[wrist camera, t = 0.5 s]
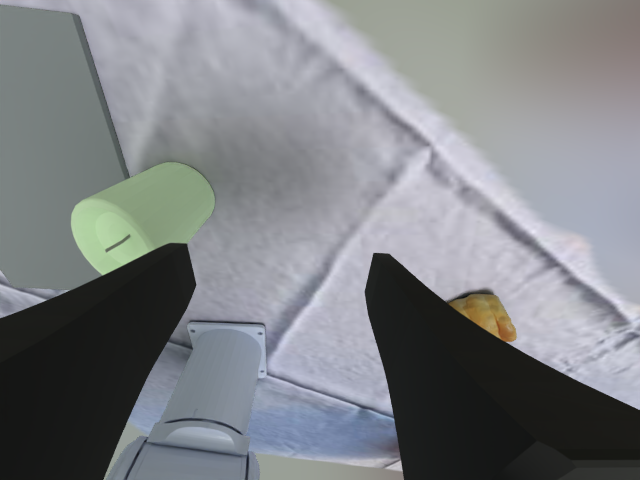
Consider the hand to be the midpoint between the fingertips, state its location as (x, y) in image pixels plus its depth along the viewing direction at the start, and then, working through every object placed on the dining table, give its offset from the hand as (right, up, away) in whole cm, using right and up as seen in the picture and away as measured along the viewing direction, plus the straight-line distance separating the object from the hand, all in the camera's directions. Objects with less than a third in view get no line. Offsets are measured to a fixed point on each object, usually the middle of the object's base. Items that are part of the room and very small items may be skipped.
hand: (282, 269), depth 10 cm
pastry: (+17, -7, +17) cm, 25 cm away
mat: (-19, +5, +8) cm, 21 cm away
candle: (-9, +5, +9) cm, 14 cm away
